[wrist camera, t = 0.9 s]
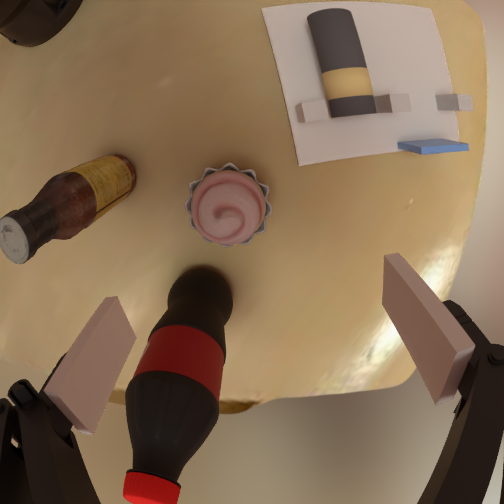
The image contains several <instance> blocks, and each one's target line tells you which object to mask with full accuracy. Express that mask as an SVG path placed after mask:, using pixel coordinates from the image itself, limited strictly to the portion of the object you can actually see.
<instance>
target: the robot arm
mask: <svg viewBox="0 0 504 504" xmlns="http://www.w3.org/2000/svg"><path fill="white" fill-rule="evenodd" d="M81 2H82V0H0V34H2V35H3V36H4V37H6V38H7V39H9V41H11V42H12V43H13V44H16V45H19V46H25V47H33V46H37V45H39V44H42V43H44V42H45V41H47V40H49V39H50V38H51V37H53V36H54V35H55V34H56V33H58V32H59V31H60V30H61V29H62V28H63V27H64V26H65V25H66V24H67V22H68V21H69V20H70V19H71V17H72V16H73V15H74V13H75V12H76V10H77V9H78V7H79V5H80V4H81ZM382 305H383V307H384V308H385V310H386V312H387V313H388V315H389V317H390V319H391V320H392V322H393V324H394V326H395V327H396V329H397V331H398V333H399V335H400V336H401V338H402V340H403V342H404V344H405V346H406V347H407V349H408V351H409V353H410V355H411V357H412V359H413V361H414V363H415V364H416V366H417V368H418V370H419V372H420V374H421V376H422V378H423V380H424V382H425V384H426V386H427V388H428V390H429V392H430V394H431V397H432V399H433V401H434V403H435V405H439V404H442V403H444V402H446V401H449V400H451V399H453V398H454V396H455V393H456V391H457V389H458V390H459V392H460V394H461V396H462V397H461V399H460V401H459V403H458V405H457V407H456V408H455V410H454V413H456V414H455V417H454V420H453V423H452V426H451V429H450V431H449V434H448V437H447V440H446V442H445V445H444V447H443V450H442V453H441V455H440V457H439V460H438V462H437V464H436V466H435V469H434V471H433V473H432V475H431V478H430V480H429V482H428V484H427V486H426V488H425V490H424V492H423V494H422V496H421V497H420V499H419V501H418V503H417V504H482V502H483V499H484V497H485V494H486V491H487V488H488V486H489V482H490V480H491V476H492V473H493V470H494V467H495V463H496V460H497V456H498V452H499V448H500V444H501V440H502V436H503V431H504V346H502V345H499V344H491V343H490V342H489V341H488V339H487V338H486V337H485V335H484V334H483V333H482V332H481V330H480V329H479V328H478V327H477V325H476V324H475V323H474V322H472V319H471V318H470V317H469V316H468V315H467V314H466V312H465V311H464V310H463V309H462V308H461V306H460V305H458V304H456V303H455V302H453V301H451V300H447V301H444V302H441V300H440V299H439V298H438V297H437V296H436V294H435V293H434V292H433V291H432V290H431V289H430V287H429V286H428V285H427V284H426V283H425V282H424V280H423V279H422V278H421V277H420V276H419V275H418V274H417V273H416V271H415V270H414V269H413V268H412V267H411V266H410V265H409V264H408V263H407V261H406V260H405V259H404V258H403V257H402V256H401V255H400V254H399V253H394V254H389V255H384V276H383V297H382ZM136 338H137V337H136V335H135V333H134V331H133V329H132V327H131V325H130V323H129V321H128V319H127V317H126V315H125V313H124V310H123V308H122V306H121V304H120V302H119V299H118V297H117V296H115V297H107V298H105V299H104V300H103V302H102V303H101V304H100V306H99V307H98V309H97V310H96V311H95V313H94V314H93V316H92V317H91V318H90V320H89V321H88V323H87V324H86V326H85V327H84V328H83V330H82V331H81V333H80V334H79V336H78V337H77V339H76V340H75V342H74V343H73V345H72V346H71V348H70V349H69V351H68V352H67V353H65V354H64V355H63V356H62V357H61V358H60V360H59V361H58V363H57V365H56V367H55V368H54V369H53V371H52V373H51V374H50V376H49V377H48V379H47V380H46V382H45V384H44V385H43V387H42V389H41V390H40V392H39V394H38V393H37V391H36V390H35V389H34V387H33V386H32V385H31V384H30V382H29V381H28V380H26V379H23V380H19V381H17V382H16V383H14V384H13V385H12V386H11V387H10V389H9V391H8V397H9V398H10V399H11V400H12V402H13V403H14V404H15V405H16V406H13V405H12V404H11V403H10V402H9V401H8V400H7V399H6V398H2V399H0V504H101V503H100V501H99V498H98V496H97V494H96V492H95V489H94V487H93V485H92V482H91V480H90V478H89V475H88V472H87V470H86V467H85V464H84V462H83V459H82V456H81V453H80V450H79V447H78V444H77V441H76V438H75V435H74V433H73V432H72V431H71V428H72V426H73V425H74V426H75V428H76V429H77V430H78V431H79V432H80V433H84V434H90V435H94V433H95V430H96V428H97V426H98V423H99V421H100V418H101V416H102V414H103V411H104V409H105V406H106V404H107V402H108V399H109V397H110V395H111V392H112V390H113V388H114V386H115V383H116V381H117V379H118V377H119V374H120V372H121V370H122V368H123V366H124V363H125V361H126V359H127V357H128V355H129V353H130V351H131V348H132V346H133V344H134V342H135V340H136ZM12 438H13V439H14V440H15V441H16V442H17V443H18V447H17V448H16V447H15V446H14V445H13V444H12V443H11V439H12ZM500 504H504V464H503V479H502V489H501V497H500Z"/></svg>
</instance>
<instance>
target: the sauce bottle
mask: <svg viewBox="0 0 504 504" xmlns="http://www.w3.org/2000/svg"><path fill="white" fill-rule="evenodd" d="M134 185H135V173H134V169H133V166H132V165H131V163H130V162H129V161H128V160H127V159H126V158H124V157H122V156H120V155H112V156H103V157H100V158H98V159H95V160H92V161H90V162H87V163H84V164H81V165H79V166H77V167H74V168H72V169H70V170H67V171H64V172H62V173H60V174H58V175H56V176H54V177H52V178H51V179H50V180H49V181H48V182H47V183H46V184H45V185H44V187H43V188H42V189H41V190H40V192H39V193H38V194H37V195H36V197H35V198H34V199H33V201H32V202H30V203H29V204H28V205H26V206H24V207H23V208H21V209H19V210H13V211H11V212H9V213H8V214H6V215H5V216H4V217H2V218H1V219H0V247H1V249H2V250H3V252H4V254H5V255H6V257H7V258H8V259H9V260H11V261H12V262H14V263H16V264H22V263H25V262H26V261H28V260H29V259H30V258H31V257H33V256H34V255H35V253H36V251H37V249H39V248H40V247H41V246H42V245H44V244H45V243H48V242H49V241H51V240H52V239H61V240H66V239H71V238H72V237H73V236H75V235H77V234H78V233H79V232H80V231H82V230H83V229H84V228H87V227H88V226H90V225H91V224H92V223H93V222H95V221H96V220H97V219H99V218H100V217H101V216H102V215H104V214H105V213H106V212H108V211H109V210H110V209H112V208H113V207H115V206H116V205H117V204H119V203H120V202H121V201H123V200H124V199H125V198H126V197H127V196H128V195H129V194H130V192H131V191H132V189H133V187H134Z"/></svg>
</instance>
